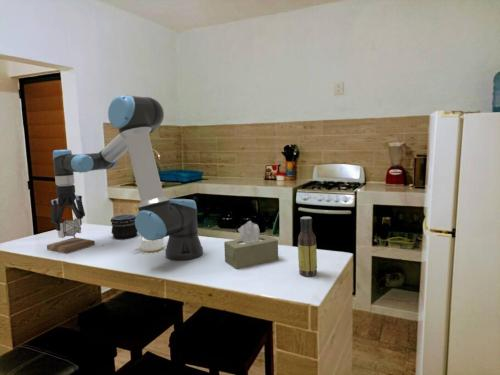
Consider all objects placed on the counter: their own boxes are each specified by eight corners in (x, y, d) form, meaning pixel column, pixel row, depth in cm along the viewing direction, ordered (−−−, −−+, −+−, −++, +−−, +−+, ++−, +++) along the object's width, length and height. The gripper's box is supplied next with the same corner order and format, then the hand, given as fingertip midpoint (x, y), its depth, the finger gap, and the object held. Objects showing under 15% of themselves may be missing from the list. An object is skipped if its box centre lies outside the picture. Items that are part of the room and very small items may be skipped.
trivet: (94, 245, 171) (94, 240, 171) (66, 253, 159) (66, 248, 159) (75, 241, 178) (75, 236, 178) (47, 249, 166) (46, 244, 166)
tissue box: (266, 253, 153) (265, 215, 150) (279, 260, 144) (278, 220, 142) (224, 262, 144) (222, 222, 142) (235, 269, 135) (233, 227, 133)
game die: (76, 243, 170) (88, 224, 172) (66, 242, 162) (79, 222, 163) (60, 233, 172) (72, 214, 173) (49, 232, 163) (62, 212, 165)
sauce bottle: (314, 270, 132) (314, 215, 129) (318, 276, 126) (318, 219, 123) (296, 271, 132) (296, 215, 129) (300, 277, 126) (299, 219, 123)
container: (133, 239, 179) (132, 219, 177) (107, 240, 179) (105, 219, 178) (142, 232, 191) (141, 213, 190) (117, 233, 192) (116, 214, 190)
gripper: (80, 181, 176) (84, 228, 179) (37, 187, 158) (42, 239, 161) (91, 182, 172) (95, 230, 175) (47, 188, 154) (53, 242, 157)
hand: (70, 234), depth 168 cm, fingers closed on game die, 8 cm apart
